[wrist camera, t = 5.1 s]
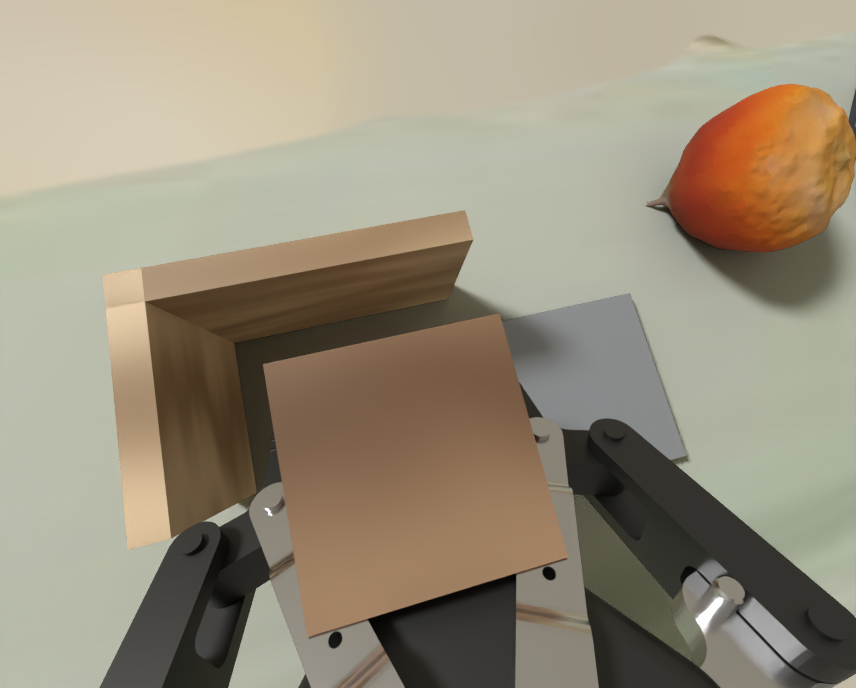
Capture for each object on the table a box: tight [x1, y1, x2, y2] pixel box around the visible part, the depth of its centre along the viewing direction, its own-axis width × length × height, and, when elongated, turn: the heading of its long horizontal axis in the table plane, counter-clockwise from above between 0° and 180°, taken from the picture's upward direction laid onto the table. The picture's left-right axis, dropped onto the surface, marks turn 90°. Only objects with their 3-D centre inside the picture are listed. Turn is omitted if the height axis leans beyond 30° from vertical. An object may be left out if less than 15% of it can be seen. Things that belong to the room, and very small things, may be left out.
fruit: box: [646, 84, 856, 252], centre depth 20 cm, size 8×8×8 cm
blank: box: [263, 313, 568, 637], centre depth 13 cm, size 5×5×12 cm
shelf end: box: [103, 211, 473, 550], centre depth 16 cm, size 9×13×7 cm
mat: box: [502, 293, 686, 460], centre depth 20 cm, size 9×9×1 cm
